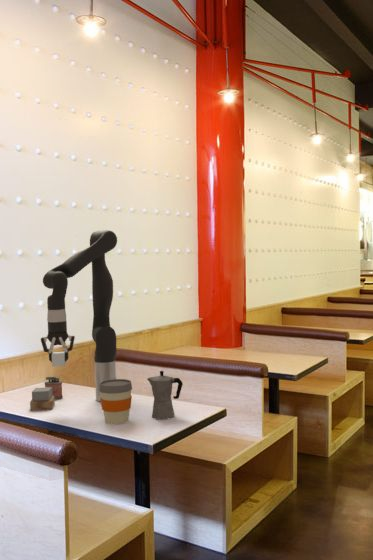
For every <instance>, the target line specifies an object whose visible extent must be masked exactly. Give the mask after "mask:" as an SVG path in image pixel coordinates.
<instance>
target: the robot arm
mask: <svg viewBox="0 0 373 560" xmlns="http://www.w3.org/2000/svg"><path fill="white" fill-rule="evenodd" d="M117 243H118V236H117V235H116V233H115V232H114V231H113V230H107V229H106V230H104V229H103V230H95V231H93V232H91V235H90V238H89V246H88V247H86V248H84V249H82V250H80V251H78V252H76V253H74V254H73V255H71V256H70V257H69V258H68V259H66V260H65V261H64V262H63V263H61V264H59V265H57V266H55V267H54V268H52V269H50V270H48V271H47V272H46V273H45V274H44V276H43V278H42V284H43V286H44V287H45V288H47V289H50V290H51V289H52V293H51V294H50V295H48V296H47V299H46V300H47V302H46V303H47V313H46V314H47V318H46V321H47V335H46V336H44V337H43V336H42V337H41V338H40V342H41V346H42V349H43V352H44V353H48V360H49V361H50V363H52V353H53V350H54V346H58V345H59V346H61V347H62V349H63V352H64V353H65V362H66V363H67V361H68V360H69V352H70V351H73V348H74V343H75V339H76V338H75V337H76V336H75V335H69V334H68V326H67V325H68V324H67V312H66V311H67V310H66V301H65V300H66V296H67V290H68V286H69V285H68V284H69V283H68V282H69V279H70V278H73V277H75V276H76V275H77V274H78V273H80V272H81V271H82V270H83V269H84V268H86V267H87V266H88V265H90V264H91V274H92V276H91V277H92V278H91V279H92V281H91V282H92V284H91V287H92V291H91V292H92V295H91V296H92V308H93V310H92V312H93V319H92V329H91V337H92V340H93V342H95V354H94V357H93V359H94V360H93V361H94V379H95V380H94V381H95V400H96V401H97V402H101V400H100V398H101V393H100V391H99V388H100V383H101V382H103V381H106V380H113V379H117V369H116V366H117V365H116V356H117V333H116V331H115V329H114V328H113V327H111V323H110V322H111V321H110V312H111V307H112V302H113V300H114V299H113V298H114V280H113V277H112V275H111V273H110V271H109V268H108V266H107V264H106V254H107V253H108V252H110V251H112V250H114V249H115V248H116V246H117ZM68 278H69V279H68ZM67 339H68V341H70V343H69V347H68V346H67V343H66V342H67ZM47 341H49V342H50V346H49V348H48V346H47Z"/></svg>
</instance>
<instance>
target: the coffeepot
mask: <svg viewBox="0 0 373 560" xmlns="http://www.w3.org/2000/svg"><path fill="white" fill-rule="evenodd" d="M146 380H147V381H148V382H149V384H150V386H151V391H152V396H153V405H152V412H151V418H153V419H154V418H155V420H168V418H170V419H172V418H174V417H175V411H174V410H175V409H174V405H173V400H172V393H173V391H172V390H173V385H174V384H176V383H177V384H178V385H177V389H176V392H175V396H174V395H173V399H174V400H177V399H179V398H180V396H181V391H182V388H183V385H184V384H183V381H182V380H181V379H180V377H173V376H170V375H169V376H168V375H164V370H159V375H156V376H152V377H147V378H146Z"/></svg>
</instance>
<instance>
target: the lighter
mask: <svg viewBox="0 0 373 560" xmlns="http://www.w3.org/2000/svg"><path fill="white" fill-rule="evenodd" d="M47 387H52V396H54V398H55V400H61V399H63V398H64V397H63V381H60V376H55V375H53V376H46V377H45V381H44V388H47Z"/></svg>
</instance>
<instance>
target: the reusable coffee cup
mask: <svg viewBox="0 0 373 560" xmlns="http://www.w3.org/2000/svg"><path fill="white" fill-rule="evenodd" d="M132 390H133V384H132V381H131V380H130V379H126V378H125V379H124V378H116V379H113V380H106V381H103V382H101V383H100V388H99V391H100V393H101V398H100V400H101V401H100V405H101V410H102V411H103V416H104V422H105V424H107V425H122V424H126V423H128V422H129V417H130V409H131V407H132V398H133V397H132Z"/></svg>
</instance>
